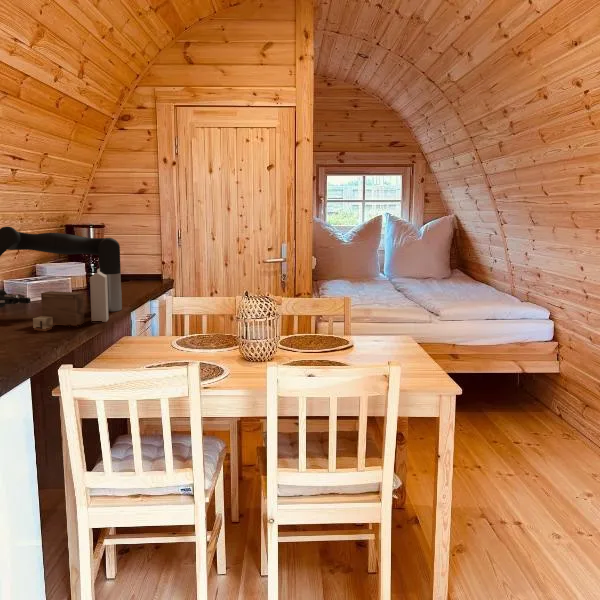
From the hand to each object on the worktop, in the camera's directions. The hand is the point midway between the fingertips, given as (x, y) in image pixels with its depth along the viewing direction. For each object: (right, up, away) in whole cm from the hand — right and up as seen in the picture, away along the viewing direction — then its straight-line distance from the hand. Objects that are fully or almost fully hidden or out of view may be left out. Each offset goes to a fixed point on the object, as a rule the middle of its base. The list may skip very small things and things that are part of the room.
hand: (29, 300), depth 243 cm
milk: (+27, -9, +7) cm, 29 cm away
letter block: (+12, -12, -13) cm, 21 cm away
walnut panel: (+15, -10, -2) cm, 18 cm away
